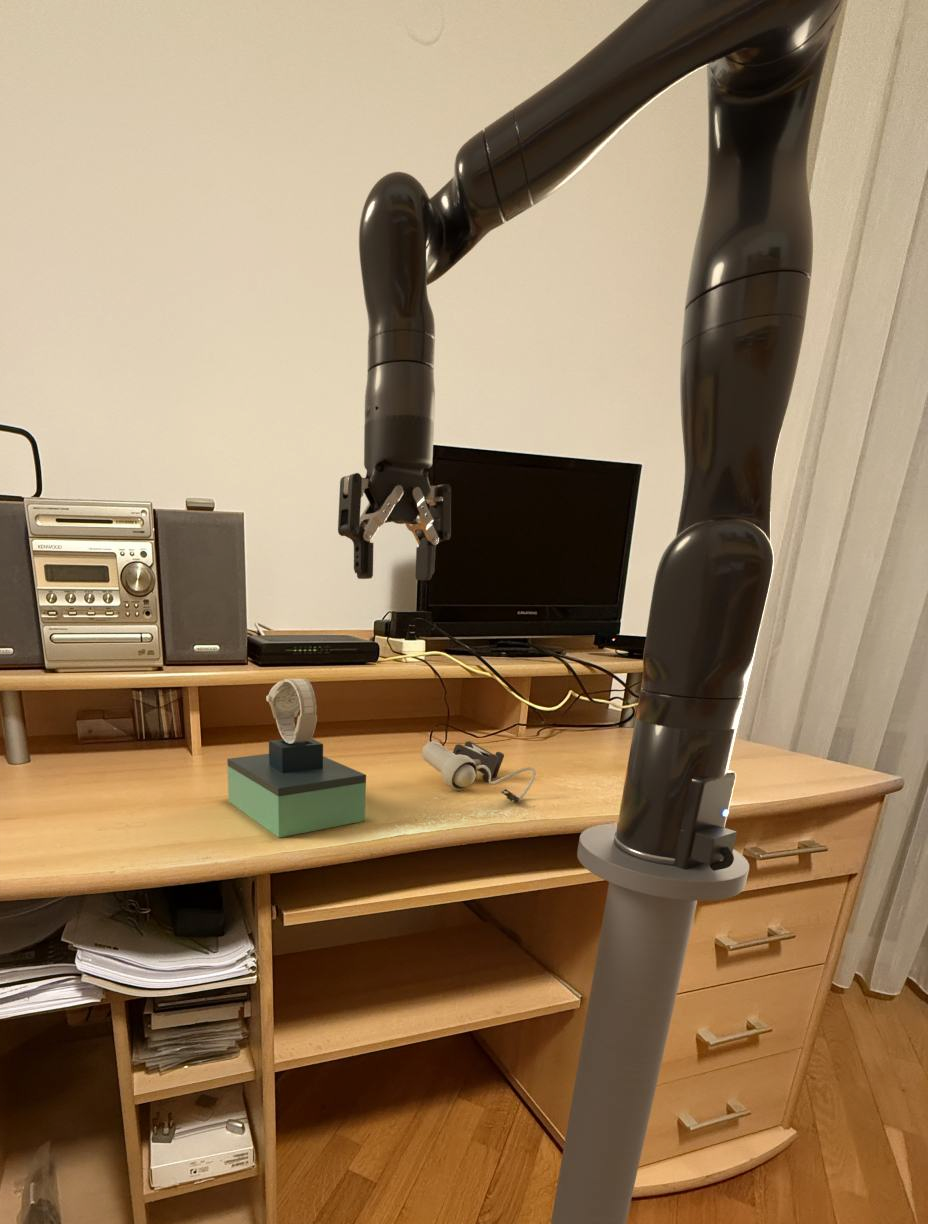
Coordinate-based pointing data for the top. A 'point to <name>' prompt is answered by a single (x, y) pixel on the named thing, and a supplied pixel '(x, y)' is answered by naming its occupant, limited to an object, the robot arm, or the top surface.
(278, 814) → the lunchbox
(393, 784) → the top surface
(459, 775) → the clip-on lamp
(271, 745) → the watch
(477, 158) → the robot arm
